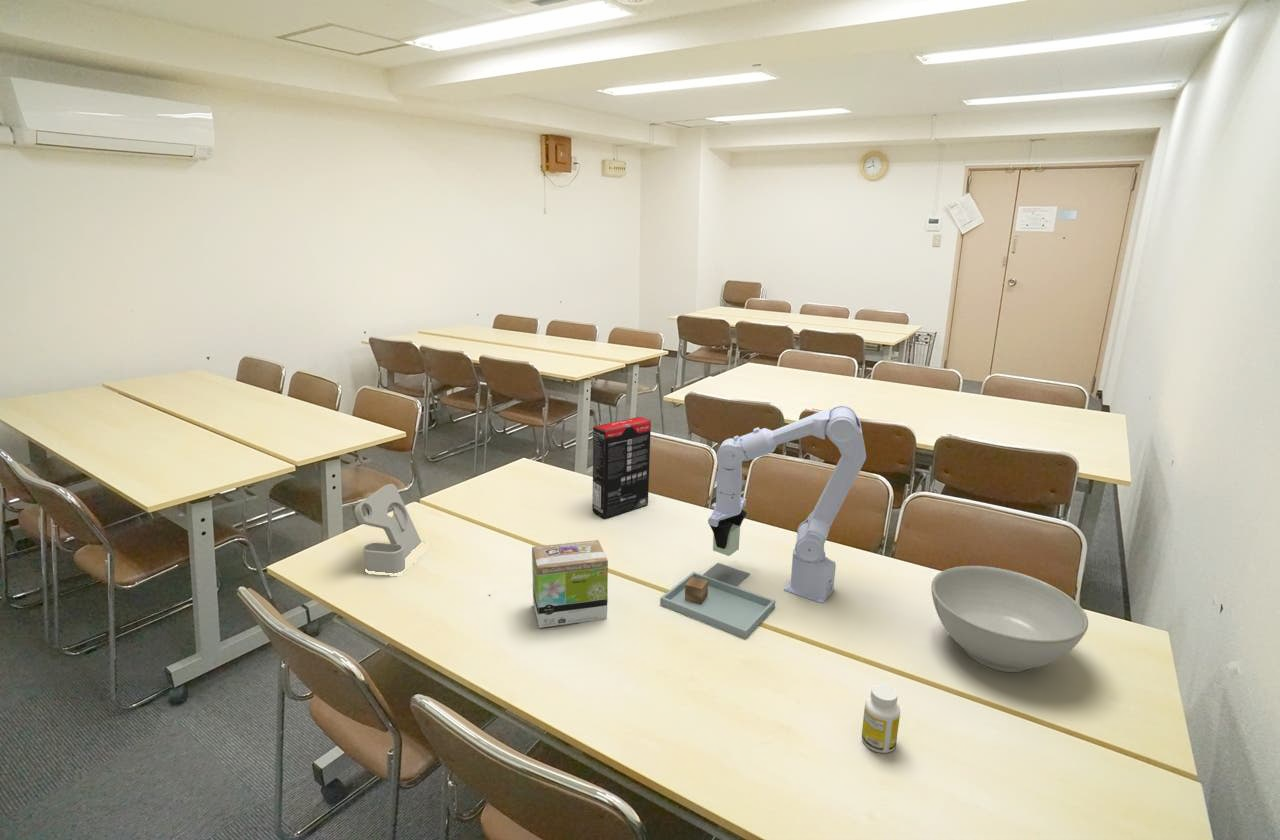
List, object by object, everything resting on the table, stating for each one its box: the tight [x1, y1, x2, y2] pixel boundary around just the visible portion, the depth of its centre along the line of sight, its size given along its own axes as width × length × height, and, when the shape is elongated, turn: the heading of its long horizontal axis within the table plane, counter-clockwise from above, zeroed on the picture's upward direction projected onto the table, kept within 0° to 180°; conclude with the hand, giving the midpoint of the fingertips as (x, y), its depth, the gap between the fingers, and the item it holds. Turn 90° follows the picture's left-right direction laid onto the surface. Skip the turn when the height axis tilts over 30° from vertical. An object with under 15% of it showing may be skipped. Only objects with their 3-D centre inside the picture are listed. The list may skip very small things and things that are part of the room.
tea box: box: [531, 539, 609, 629], centre depth 141 cm, size 15×10×15 cm
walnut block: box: [685, 577, 708, 605], centre depth 148 cm, size 4×4×4 cm
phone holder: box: [354, 483, 422, 574], centre depth 163 cm, size 17×10×18 cm, turn 171°
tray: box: [659, 571, 776, 640], centre depth 145 cm, size 21×14×2 cm
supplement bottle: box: [861, 683, 901, 754], centre depth 106 cm, size 5×5×10 cm
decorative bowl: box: [930, 565, 1089, 673], centre depth 129 cm, size 27×27×12 cm
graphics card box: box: [592, 416, 652, 519], centre depth 192 cm, size 17×7×27 cm, turn 130°
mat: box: [702, 562, 751, 587], centre depth 158 cm, size 9×9×1 cm
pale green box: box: [712, 524, 741, 557], centre depth 155 cm, size 4×4×6 cm
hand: (726, 543), depth 155 cm, fingers closed on pale green box, 5 cm apart
